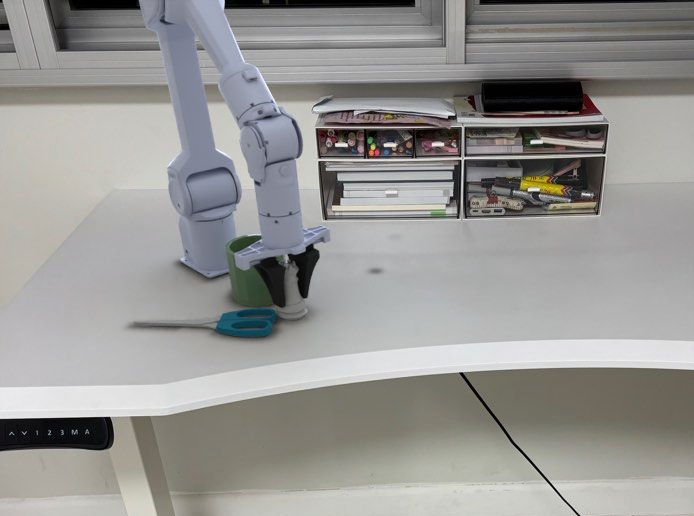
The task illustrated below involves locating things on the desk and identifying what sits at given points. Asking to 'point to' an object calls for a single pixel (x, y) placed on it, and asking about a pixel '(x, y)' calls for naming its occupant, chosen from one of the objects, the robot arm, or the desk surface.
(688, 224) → the desk surface
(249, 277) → the planter
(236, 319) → the scissors
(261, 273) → the robot arm
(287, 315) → the rook chess piece
